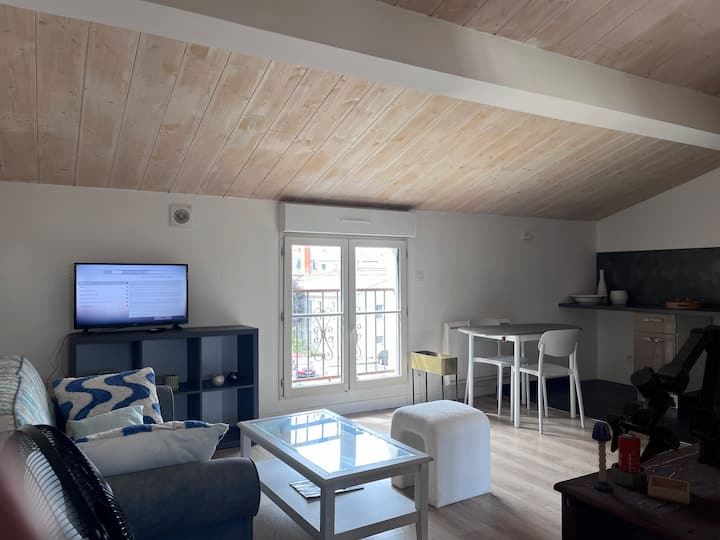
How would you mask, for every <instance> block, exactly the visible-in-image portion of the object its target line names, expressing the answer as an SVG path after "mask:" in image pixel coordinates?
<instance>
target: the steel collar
mask: <svg viewBox="0 0 720 540" xmlns="http://www.w3.org/2000/svg"><path fill="white" fill-rule="evenodd" d="M648 470H649V469H648V468H646V467H645V466H643V465H640V473H630V472H624V471H621V470H619V469H618V461H617V462H613V463H612V464H611V466H610V479H611V481H612V482H614V483H615V484H617V485H619V486H622V487H627V488H628V487H629V488H633V489H634V488H637V489H639V488H640V489H641V488H642V489H643V488H645V487H648V484H649V480H648V478H649V476H648Z"/></svg>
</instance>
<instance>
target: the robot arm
mask: <svg viewBox="0 0 720 540" xmlns="http://www.w3.org/2000/svg"><path fill="white" fill-rule="evenodd" d="M704 351H705V352H706V359H705V364H704V368H703V369H704V370H703V374H702V375H703V376H702V382H701V388H700V394H699V402H698V403H697V404H696V405H695V406H690V408H689V414H688V416H687V417H688V418H687V425H688V429H689V433H690V437H692V438H693V437H694V438H695V439H696V438H697V442H698V443H697V444H698V445H697V446H698V447H697V448H698V451H697V453H696V462H698V463H702V464H703V463H705V464H711V465H716V466H720V325H718V324H708V325H707V326H705V327H692V328H691V329H690V331H689V336H688V337H687V338H686V340H685V341H684V343H683V344H682V346H681V347H680V348H679V350H678V352H677V353H676V355H675V356H673V358H672V360H671V361H670V362H668V363H666V364H663V365H662V366H661V367H660V368H659V369H658V370H657V371H656V372H655V370H654V369H653V367H651V366H647V365H646V366H645V365H644V367H643V368H642V369H638V370H635V372H633V373H632V374H631V375H630V378H629V381H630V383H631V385H632V386H633V387H634V388H635V390H636V391H637V393H638V394H639V396H640V397H641V398H643V399H645V400H644V401H643V402H642V404H641V403H635V402H630V401H626V400H625V401H624V402H623V405H622V409H621V410H620V413H621V414H624V415H627V419H628V420H629V421H631V423H630V422H628V421H626V419H625V418H624V416H623V415H620V414H617V413H613V412H610V413H608V414H607V415H606V416H605V418H604V422H605V423H607V424H608V427H610V428H611V430H612V434H611V437H612V439H611V444H610V452H611V453H613V454H614V453H615V452H617V450H618V437H619V436H620V433H629V432H633V433H636V434H641V435H643V436H646V437H648V443H647V444H646V446H645V447H644V449H643V450H642V453H641V454H640V459H639V461H640V464H644V463H645V462H646V461H648V460H650V459H653V458H654V457H656V456H658V455H660V454H663V453H664V452H670V451H671V450H672V451H675V452H677V451H679V450H680V449H679V448H680V446H681V440H680V439H679V438H678V436H677V435H676V433H675V432H674V430H673V429H671V428H669V427H668V428H667V427H663V426H661V425H664V424H665V422H666V420H665V419H664V417H665V416H666V413H667V411H668V410H669V408H670V407H671V408H676V407H677V403H676V402H675V397H674V396H671V394H674V395H675V394H676V395H682V394H684V393H685V391H686V390H687V388H688V386H689V383H690V382H691V379H690V373H691V371H692V369H693V367H694V366H695V364H696V363H697V361H698V360H699V358H700V357H701V356H702V354H703V352H704Z"/></svg>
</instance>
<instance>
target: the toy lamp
mask: <svg viewBox="0 0 720 540" xmlns="http://www.w3.org/2000/svg"><path fill="white" fill-rule="evenodd" d="M609 427H610V426H609V425H608V423H607V422H606V421H595V423H594V425H593V428H592V433H591V439H593V440H594V441H597V444H598V447H597V449H598V453H597V454H598V469H599V470H598V475H599V476H598V480H597V481H596V482H595V483H594V485H593V488H594V489H595V490H596V491H599V492H602V491H603V492H604V493H610V492H612V491H613V486H612V485H611V484H610V483H611V482H609V481H607V479H608V478H607V458H606V457H607V453H606V452H607V447H606V444H607V442H612V434H611V430H610V428H609Z"/></svg>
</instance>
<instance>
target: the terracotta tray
mask: <svg viewBox="0 0 720 540" xmlns="http://www.w3.org/2000/svg"><path fill="white" fill-rule="evenodd" d="M690 485H691V482H690V481H686V480H681V479H675V478H669V477H664V476H659V475H653V474H650V475H649V480H648V483H647V497H649V498H653V499H658V500H663V501H668V502H674V503H678V504H684V505H691V504H690V503H691V501H690V499H691V498H690Z"/></svg>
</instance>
